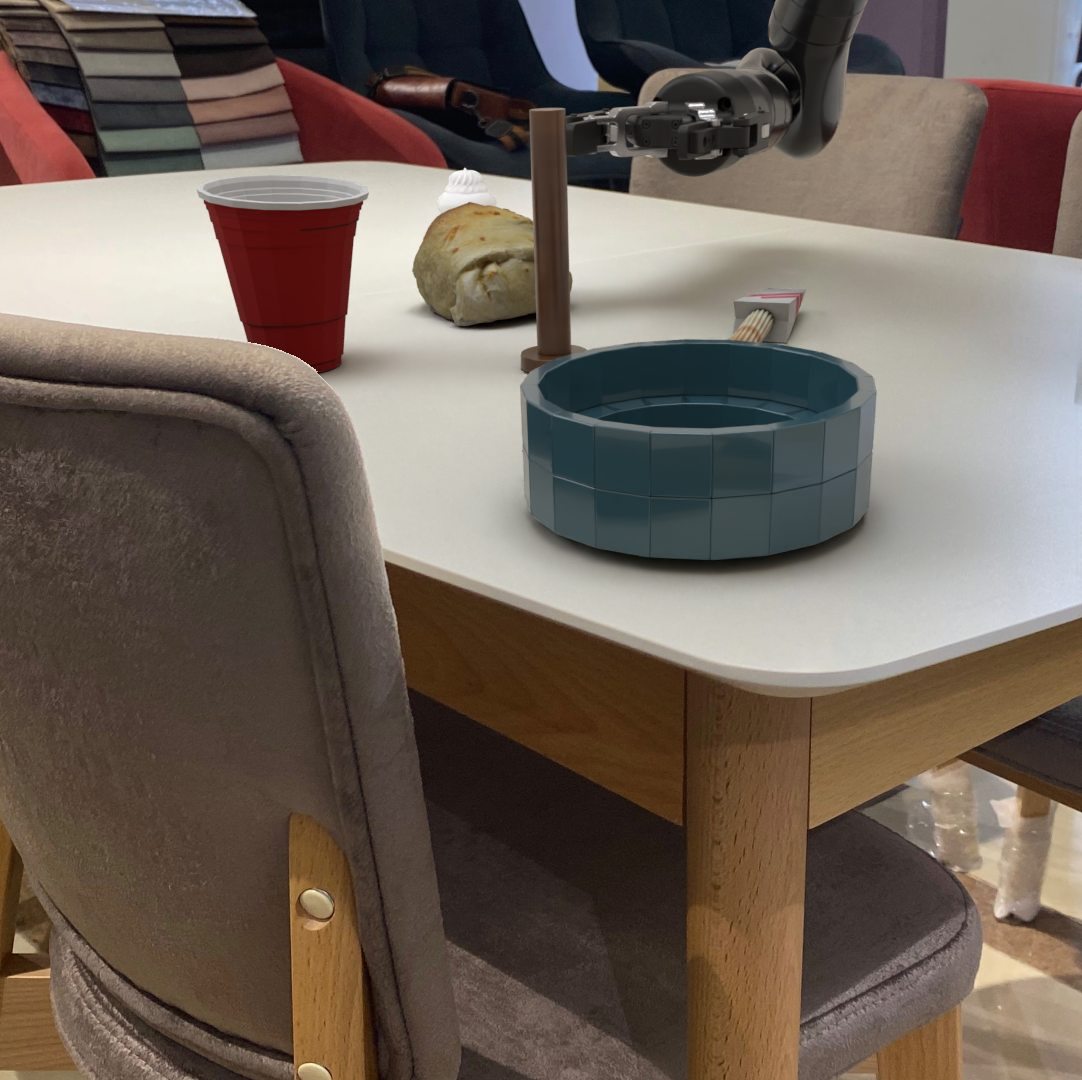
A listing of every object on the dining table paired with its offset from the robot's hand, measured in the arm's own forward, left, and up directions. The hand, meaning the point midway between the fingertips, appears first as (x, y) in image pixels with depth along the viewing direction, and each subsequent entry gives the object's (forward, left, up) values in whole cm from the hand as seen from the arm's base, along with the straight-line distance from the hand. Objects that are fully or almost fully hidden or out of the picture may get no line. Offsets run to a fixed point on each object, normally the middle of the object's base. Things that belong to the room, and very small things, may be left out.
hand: (624, 142), depth 89 cm
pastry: (+13, -3, -13) cm, 19 cm away
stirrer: (0, +11, -13) cm, 17 cm away
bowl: (-18, +31, -13) cm, 38 cm away
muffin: (+33, -32, -13) cm, 48 cm away
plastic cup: (+16, +17, -13) cm, 27 cm away
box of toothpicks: (-10, 0, -13) cm, 17 cm away
